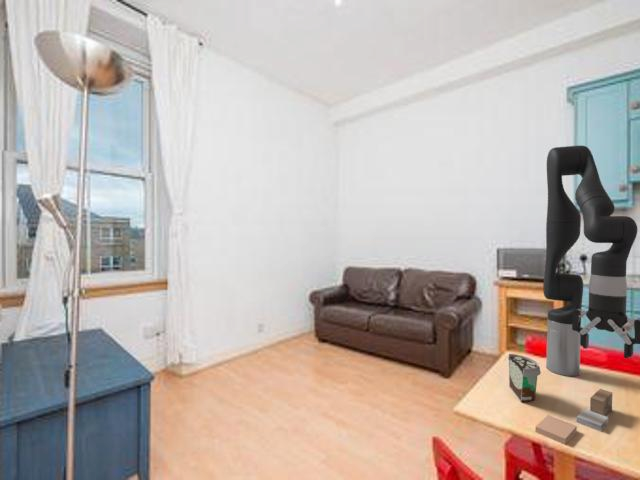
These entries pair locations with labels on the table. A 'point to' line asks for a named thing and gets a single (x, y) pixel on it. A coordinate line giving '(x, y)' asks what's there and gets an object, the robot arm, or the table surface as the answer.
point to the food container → (523, 377)
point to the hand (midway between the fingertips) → (605, 352)
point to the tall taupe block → (597, 411)
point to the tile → (556, 429)
